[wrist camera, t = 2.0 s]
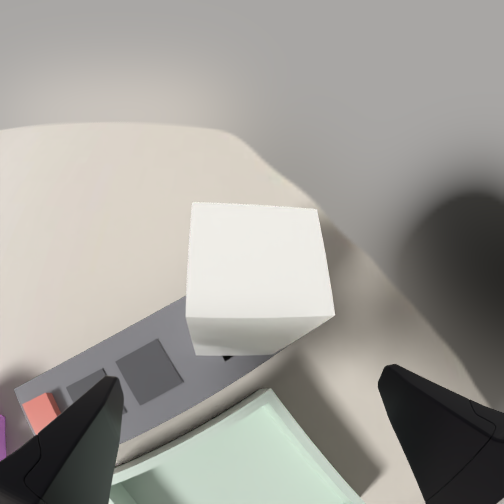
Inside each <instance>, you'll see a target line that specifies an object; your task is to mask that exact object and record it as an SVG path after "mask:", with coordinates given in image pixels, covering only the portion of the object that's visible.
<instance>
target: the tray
mask: <svg viewBox="0 0 504 504" xmlns="http://www.w3.org/2000/svg"><path fill="white" fill-rule="evenodd" d="M109 504H366V503H365V502H364V501H363V500H362V499H361V498H360V497H359V496H358V495H357V494H356V493H355V491H354V490H353V489H352V488H351V487H350V486H349V485H348V484H347V482H346V481H345V480H344V479H343V478H342V477H341V476H340V474H339V473H338V472H337V471H336V470H335V469H334V467H333V466H332V465H331V464H330V463H329V461H328V460H327V459H326V458H325V457H324V455H323V454H322V453H321V452H320V451H319V449H318V448H317V447H316V446H315V445H314V443H313V442H312V441H311V440H310V438H309V437H308V436H307V435H306V433H305V432H304V431H303V430H302V428H301V427H300V426H299V424H298V423H297V422H296V421H295V419H294V418H293V417H292V415H291V414H290V413H289V411H288V410H287V409H286V408H285V406H284V405H283V404H282V402H281V401H280V400H279V398H278V397H277V396H276V394H275V393H274V392H273V390H272V389H271V388H269V389H259V390H258V391H256V392H255V393H253V394H252V395H250V396H249V397H247V398H246V399H244V400H243V401H241V402H239V403H238V404H236V405H235V406H233V407H231V408H230V409H228V410H227V411H225V412H223V413H222V414H220V415H218V416H217V417H215V418H213V419H212V420H210V421H208V422H206V423H205V424H203V425H201V426H199V427H198V428H196V429H194V430H192V431H190V432H189V433H187V434H185V435H183V436H181V437H179V438H177V439H175V440H174V441H172V442H170V443H168V444H166V445H164V446H162V447H160V448H158V449H156V450H154V451H151V452H149V453H147V454H145V455H143V456H141V457H139V458H136V459H134V460H132V461H130V462H127V463H125V464H123V465H120V466H118V467H116V468H114V473H113V479H112V485H111V491H110V497H109Z"/></svg>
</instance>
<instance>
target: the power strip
mask: <svg viewBox="0 0 504 504" xmlns="http://www.w3.org/2000/svg"><path fill="white" fill-rule="evenodd" d="M289 345H290V344H289ZM286 347H287V346H286ZM284 348H285V347H284ZM284 348H283V349H284ZM283 349H281V350H283ZM281 350H279V351H278V352H280V351H281ZM278 352H276V353H274V354H272V355H247V356H200V355H196V353H195V350H194V346H193V343H192V339H191V336H190V332H189V328H188V325H187V321H186V296H184V297H183V298H181V299H179V300H177V301H175V302H173V303H172V304H170V305H168V306H166V307H164V308H163V309H161V310H159V311H157V312H155V313H153V314H152V315H150V316H148V317H146V318H144V319H142V320H141V321H139V322H137V323H135V324H133V325H131V326H130V327H128V328H126V329H124V330H122V331H121V332H119V333H117V334H115V335H113V336H111V337H109V338H108V339H106V340H104V341H102V342H100V343H98V344H97V345H95V346H93V347H91V348H89V349H87V350H86V351H84V352H82V353H80V354H78V355H76V356H74V357H73V358H71V359H69V360H67V361H65V362H63V363H61V364H60V365H58V366H56V367H54V368H52V369H50V370H48V371H47V372H45V373H43V374H41V375H39V376H37V377H35V378H34V379H32V380H30V381H28V382H26V383H24V384H22V385H20V386H19V387H17V388H15V389H14V391H15V394H16V397H17V399H18V402H19V404H20V406H21V409H22V411H23V413H24V416H25V418H26V420H27V422H28V424H29V427H30V429H31V431H32V433H33V435H34V436H35V435H36V434H37V435H38V433H39V432H40V431H41V430H42V429H43V428H44V427H46V426H47V425H48V424H49V423H50V422H51V421H53V420H54V419H55V418H56V417H57V416H58V415H60V414H61V413H62V412H63V411H64V410H66V409H67V408H68V407H69V406H70V405H71V404H73V403H74V402H75V401H76V400H77V399H78V398H80V397H81V396H82V395H83V394H84V393H85V392H87V391H88V390H89V389H90V388H91V387H93V386H94V385H95V384H96V383H97V382H98V381H100V380H101V379H102V378H103V377H104V376H106V375H109V376H116V377H118V378H119V380H120V384H121V388H122V391H123V395H124V404H123V413H122V423H121V434H120V442H119V444H121V443H123V442H126V441H128V440H130V439H132V438H134V437H136V436H138V435H140V434H142V433H144V432H146V431H148V430H150V429H152V428H154V427H156V426H158V425H160V424H162V423H164V422H166V421H168V420H170V419H171V418H173V417H175V416H177V415H179V414H181V413H182V412H184V411H186V410H188V409H190V408H191V407H193V406H195V405H197V404H198V403H200V402H202V401H204V400H205V399H207V398H209V397H210V396H212V395H214V394H215V393H217V392H219V391H220V390H222V389H224V388H225V387H227V386H228V385H230V384H232V383H233V382H235V381H236V380H238V379H239V378H241V377H243V376H244V375H246V374H247V373H249V372H250V371H252V370H253V369H255V368H256V367H258V366H259V365H261V364H262V363H264V362H265V361H267V360H268V359H270V358H271V357H273V356H274V355H275V354H277V353H278Z"/></svg>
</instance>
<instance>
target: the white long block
mask: <svg viewBox="0 0 504 504" xmlns="http://www.w3.org/2000/svg"><path fill="white" fill-rule="evenodd" d="M333 316H335V311H334V304H333V297H332V290H331V284H330V277H329V271H328V265H327V260H326V254H325V248H324V243H323V238H322V232H321V227H320V222H319V217H318V212H317V209H309V208H296V207H282V206H267V205H250V204H230V203H206V202H192V211H191V223H190V236H189V250H188V267H187V288H186V321H187V325H188V328H189V332H190V336H191V339H192V343H193V346H194V350H195V353H196V355H200V356H247V355H272V354H274V353H276V352H278V351H279V350H281V349H283V348H284V347H286V346H288V345H289V344H291V343H293V342H294V341H296V340H298V339H299V338H301V337H302V336H304V335H306V334H307V333H309V332H310V331H312V330H313V329H315V328H317V327H318V326H320V325H321V324H323V323H324V322H326V321H327V320H329V319H330V318H332V317H333Z"/></svg>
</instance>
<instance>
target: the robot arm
mask: <svg viewBox="0 0 504 504" xmlns="http://www.w3.org/2000/svg"><path fill="white" fill-rule="evenodd" d="M378 389H379V392H380V395H381V398H382V400H383V403H384V406H385V409H386V412H387V415H388V418H389V420H390V422H391V425H392V427H393V429H394V431H395V433H396V436H397V438H398V440H399V442H400V444H401V446H402V449H403V451H404V453H405V455H406V458H407V460H408V462H409V464H410V467H411V469H412V471H413V474H414V476H415V478H416V481H417V483H418V485H419V488H420V490H421V493H422V495H423V498H424V500H425V503H426V504H504V413H502V412H499V411H496V410H494V409H491V408H488V407H486V406H483V405H481V404H479V403H476V402H474V401H472V400H469V399H467V398H465V397H463V396H461V395H459V394H457V393H454V392H452V391H450V390H448V389H446V388H444V387H442V386H440V385H438V384H435V383H433V382H431V381H429V380H427V379H425V378H423V377H421V376H419V375H417V374H415V373H413V372H411V371H409V370H407V369H405V368H403V367H401V366H399V365H397V364H392V365H387V366H385V367H384V369H383V372H382V374H381V376H380V379H379V381H378ZM123 404H124V395H123V391H122V388H121V384H120V380H119V378H118V377H116V376H109V375H106V376H104V377H103V378H102V379H101V380H100V381H98V382H97V383H96V384H95V385H94V386H93V387H91V388H90V389H89V390H88V391H87V392H85V393H84V394H83V395H82V396H81V397H80V398H78V399H77V400H76V401H75V402H74V403H73V404H71V405H70V406H69V407H68V408H67V409H66V410H64V411H63V412H62V413H61V414H60V415H58V416H57V417H56V418H55V419H54V420H53V421H51V422H50V423H49V424H48V425H47V426H46V427H44V428H43V429H42V430H41V431H40V432H39V433H38V435H37V434H36V435H35V436H34V437H33V438H31V439H30V440H29V441H28V442H26V443H25V444H24V445H23V446H21V447H20V448H19V449H18V450H16V451H15V452H13V453H12V454H10V455H9V456H7V457H6V458H4V459H3V460H1V461H0V504H109V497H110V491H111V485H112V479H113V473H114V468H115V462H116V457H117V452H118V447H119V442H120V434H121V423H122V413H123Z"/></svg>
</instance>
